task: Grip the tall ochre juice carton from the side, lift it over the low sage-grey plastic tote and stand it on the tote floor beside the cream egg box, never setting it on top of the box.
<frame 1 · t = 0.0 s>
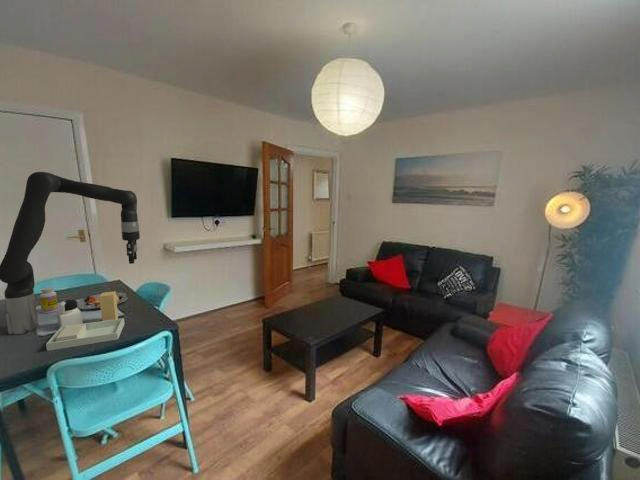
hand: (133, 261, 149), 29 cm above the table, tool pointing down, fingers open, 8 cm apart
supplement bottle: (50, 311, 156), on the table
tote: (89, 338, 130), on the table
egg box: (72, 338, 127), point 1 cm above the table, touching tote
container: (71, 327, 139), on the table
food plate: (103, 303, 169), on the table
juice carton: (110, 322, 145), on the table
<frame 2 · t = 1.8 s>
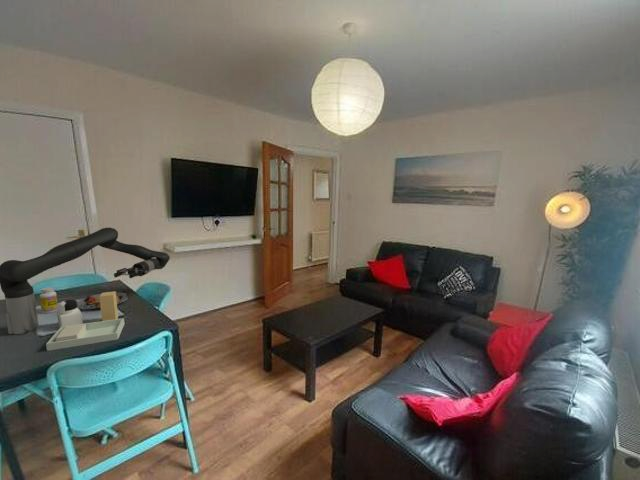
hand: (122, 276, 152), 21 cm above the table, tool horizontal, fingers open, 8 cm apart
nothing on the table moved.
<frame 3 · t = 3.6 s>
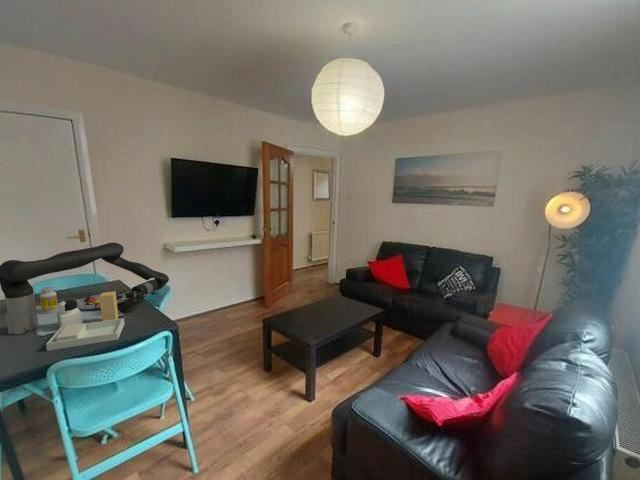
hand: (120, 300, 151), 8 cm above the table, tool horizontal, fingers open, 8 cm apart
nothing on the table moved.
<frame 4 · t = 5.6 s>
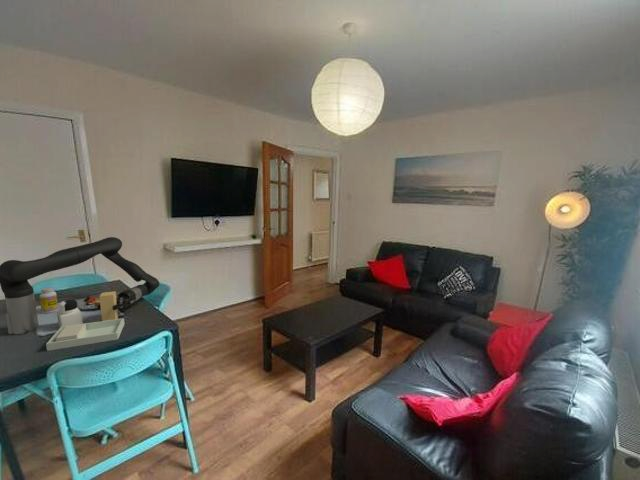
hand: (105, 307, 142), 9 cm above the table, tool horizontal, fingers closed on juice carton, 7 cm apart
juice carton: (110, 322, 145), on the table, touching gripper
everything else where it was.
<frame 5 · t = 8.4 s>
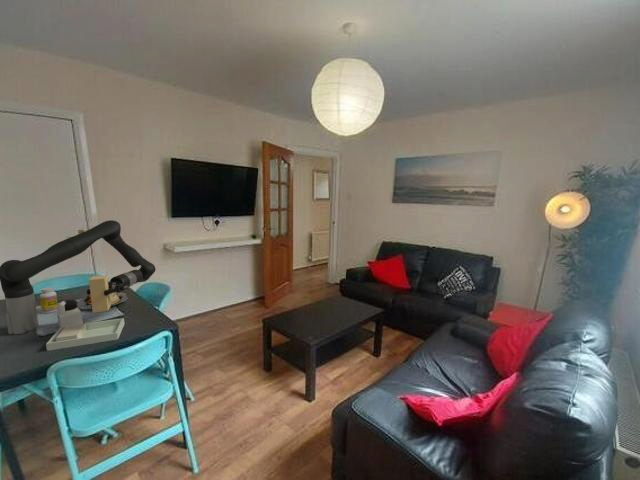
hand: (96, 293, 128), 21 cm above the table, tool horizontal, fingers closed on juice carton, 7 cm apart
juice carton: (102, 309, 131), point 12 cm above the table, touching gripper
everything else where it was.
when the fingers open (11 cm above the table, at t = 11.1 s): juice carton drops 1 cm, resting on tote.
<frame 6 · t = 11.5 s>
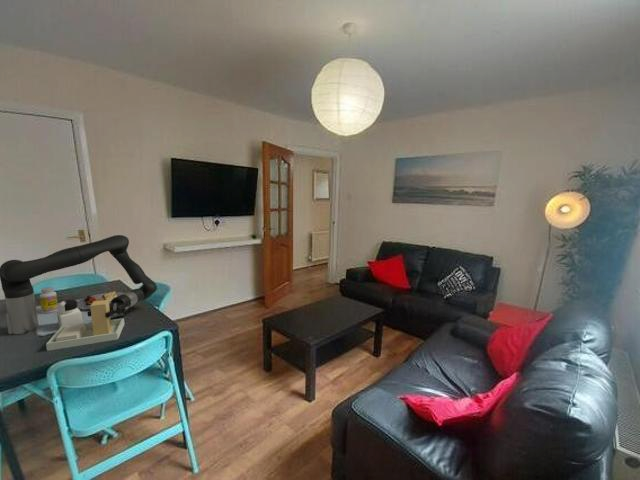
hand: (97, 315, 128), 11 cm above the table, tool horizontal, fingers open, 8 cm apart
juice carton: (103, 333, 132), point 1 cm above the table, touching tote
everything else where it was.
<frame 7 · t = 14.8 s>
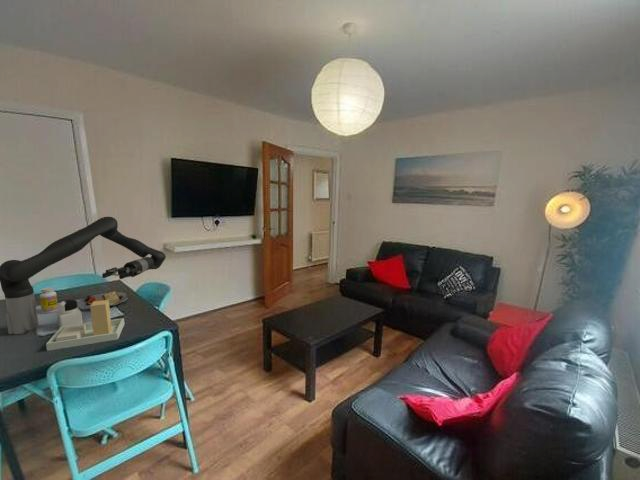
hand: (111, 276, 135), 26 cm above the table, tool horizontal, fingers open, 8 cm apart
nothing on the table moved.
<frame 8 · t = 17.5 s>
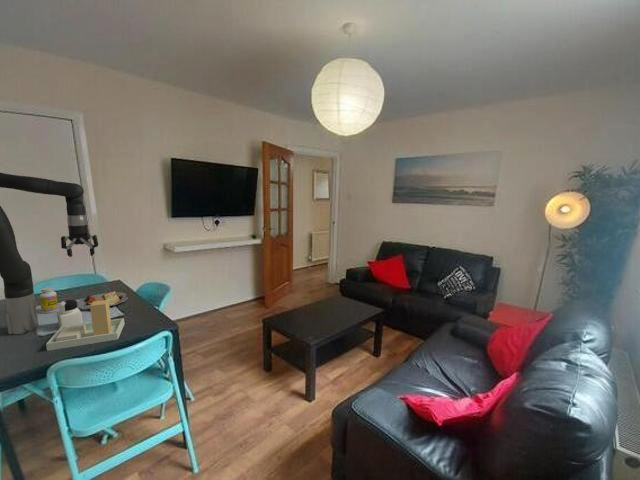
hand: (81, 256, 146), 32 cm above the table, tool pointing down, fingers open, 8 cm apart
nothing on the table moved.
at the end: juice carton inside the target area on the tote (0.5 cm from its centre), point 1.0 cm above the tote's base; juice carton tilted 0°; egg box moved 0.1 cm from its start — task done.
